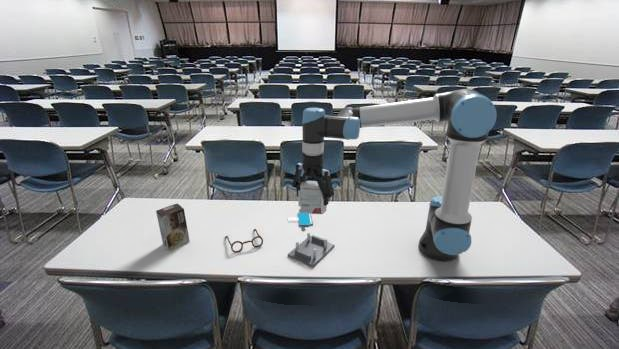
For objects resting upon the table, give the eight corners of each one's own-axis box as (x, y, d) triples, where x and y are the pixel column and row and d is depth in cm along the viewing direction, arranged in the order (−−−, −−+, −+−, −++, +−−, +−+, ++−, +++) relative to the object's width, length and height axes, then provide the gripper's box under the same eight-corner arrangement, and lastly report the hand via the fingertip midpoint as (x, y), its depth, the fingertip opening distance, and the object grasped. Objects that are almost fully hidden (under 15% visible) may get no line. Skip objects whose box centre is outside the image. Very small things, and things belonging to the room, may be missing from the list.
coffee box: (183, 235, 141) (177, 202, 135) (190, 242, 137) (184, 208, 131) (162, 244, 135) (155, 210, 129) (168, 251, 131) (161, 216, 125)
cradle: (334, 246, 134) (334, 236, 132) (313, 267, 122) (313, 256, 120) (310, 237, 140) (310, 227, 138) (287, 256, 128) (287, 245, 126)
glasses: (232, 254, 130) (230, 244, 128) (225, 237, 140) (224, 228, 139) (263, 246, 135) (263, 236, 133) (254, 231, 146) (253, 221, 144)
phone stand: (287, 210, 163) (287, 207, 163) (311, 209, 164) (311, 207, 164) (288, 232, 145) (288, 229, 144) (315, 231, 146) (315, 228, 145)
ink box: (323, 208, 126) (324, 180, 121) (323, 214, 121) (323, 186, 117) (301, 207, 126) (301, 179, 122) (300, 213, 122) (300, 184, 117)
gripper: (345, 155, 112) (342, 212, 121) (294, 144, 123) (294, 197, 132) (335, 161, 106) (332, 221, 115) (281, 149, 118) (283, 204, 126)
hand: (312, 208), depth 123 cm, fingers closed on ink box, 9 cm apart
